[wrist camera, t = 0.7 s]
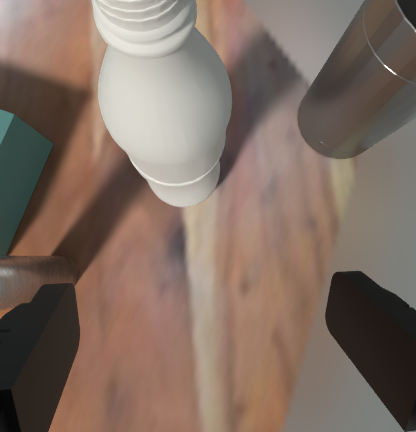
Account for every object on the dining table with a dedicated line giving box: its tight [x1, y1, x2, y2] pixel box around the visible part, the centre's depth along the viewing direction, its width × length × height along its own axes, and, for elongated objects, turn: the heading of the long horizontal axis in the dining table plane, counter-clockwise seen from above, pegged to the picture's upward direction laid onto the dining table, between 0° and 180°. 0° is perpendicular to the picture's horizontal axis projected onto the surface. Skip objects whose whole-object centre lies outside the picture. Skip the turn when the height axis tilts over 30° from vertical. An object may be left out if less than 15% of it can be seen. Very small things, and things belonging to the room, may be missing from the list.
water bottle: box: [92, 0, 232, 207], centre depth 21 cm, size 7×7×25 cm
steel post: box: [0, 256, 78, 311], centre depth 23 cm, size 4×4×18 cm
